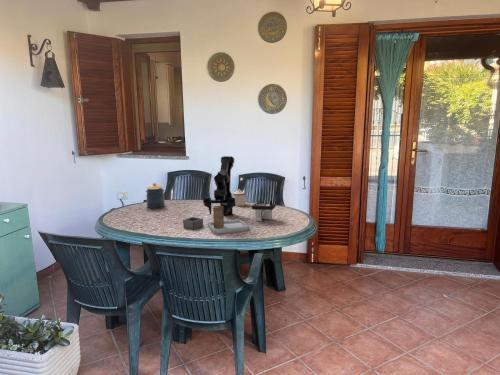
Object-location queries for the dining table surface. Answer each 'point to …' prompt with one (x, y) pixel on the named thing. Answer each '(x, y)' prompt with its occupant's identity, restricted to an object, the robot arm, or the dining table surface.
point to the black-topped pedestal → (263, 210)
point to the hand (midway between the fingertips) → (218, 214)
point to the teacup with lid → (239, 197)
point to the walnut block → (218, 216)
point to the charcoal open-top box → (193, 223)
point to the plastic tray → (229, 227)
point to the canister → (155, 196)
